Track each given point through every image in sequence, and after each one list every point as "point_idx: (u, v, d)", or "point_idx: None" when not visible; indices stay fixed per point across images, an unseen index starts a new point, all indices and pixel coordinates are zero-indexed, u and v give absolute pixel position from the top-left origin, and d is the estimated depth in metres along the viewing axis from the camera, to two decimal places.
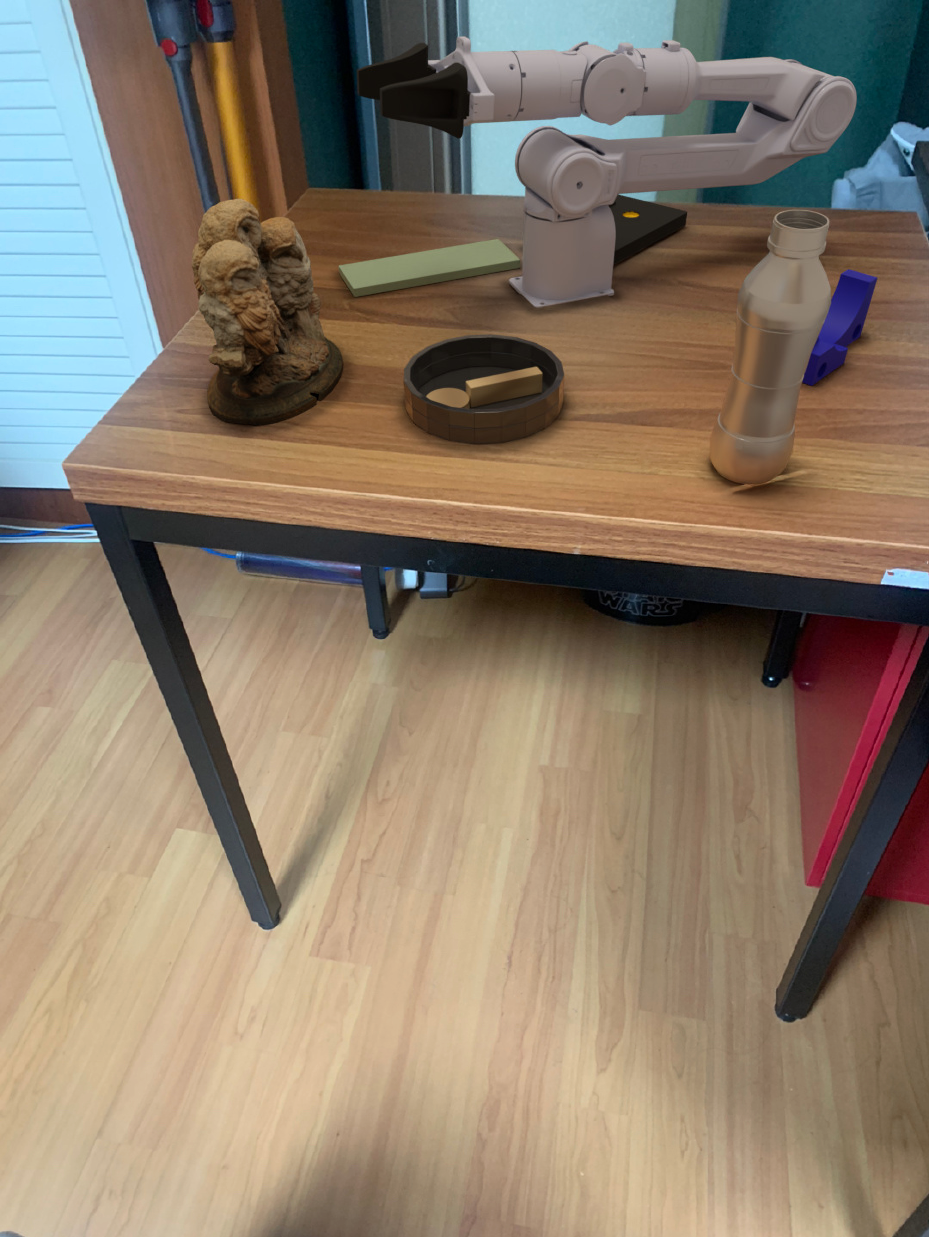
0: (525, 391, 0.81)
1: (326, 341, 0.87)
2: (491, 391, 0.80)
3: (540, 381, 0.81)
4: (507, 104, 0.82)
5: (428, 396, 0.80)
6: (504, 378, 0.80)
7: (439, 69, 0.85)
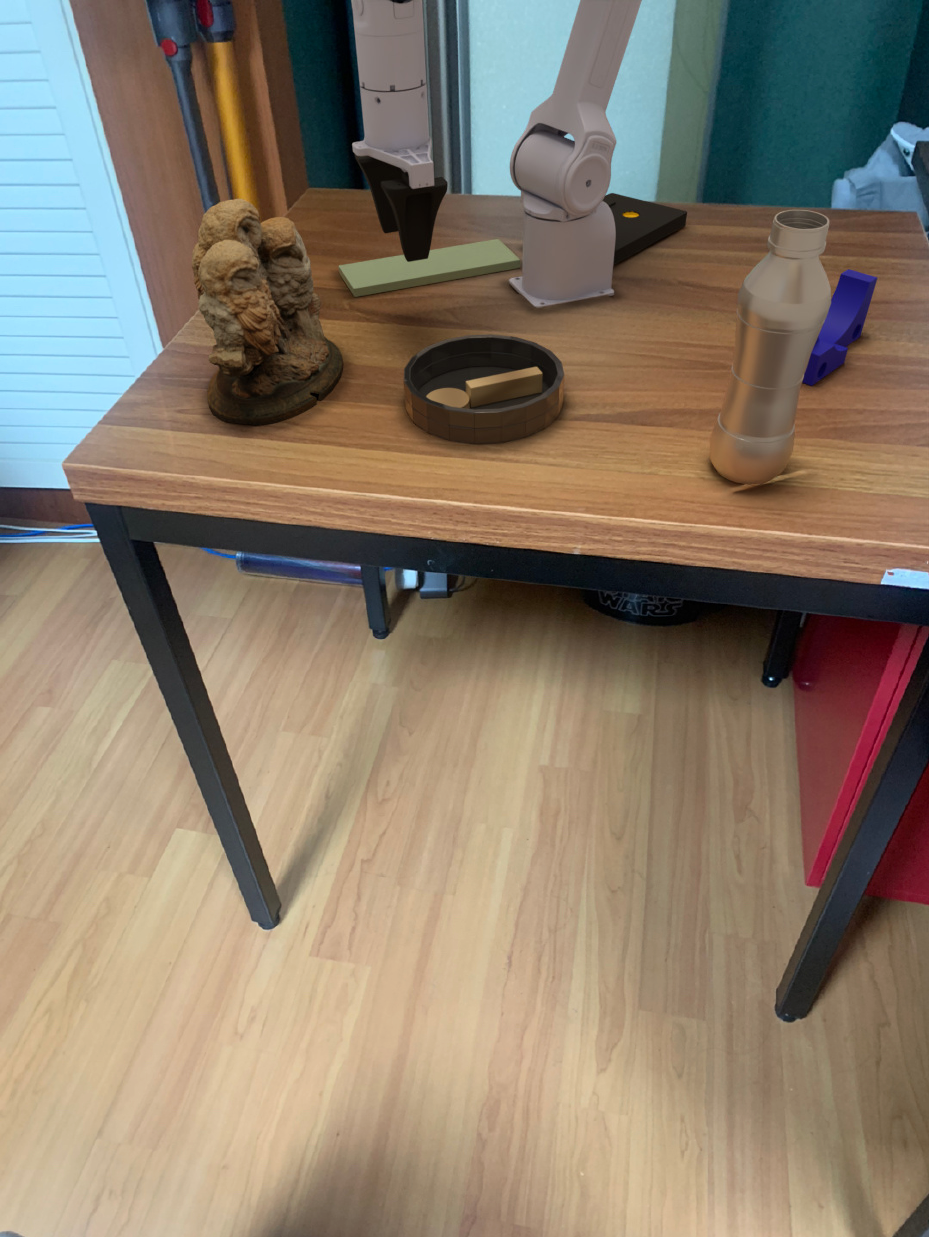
0: (525, 391, 0.81)
1: (326, 341, 0.87)
2: (491, 391, 0.80)
3: (540, 381, 0.81)
4: (412, 106, 0.75)
5: (428, 396, 0.80)
6: (504, 378, 0.80)
7: None
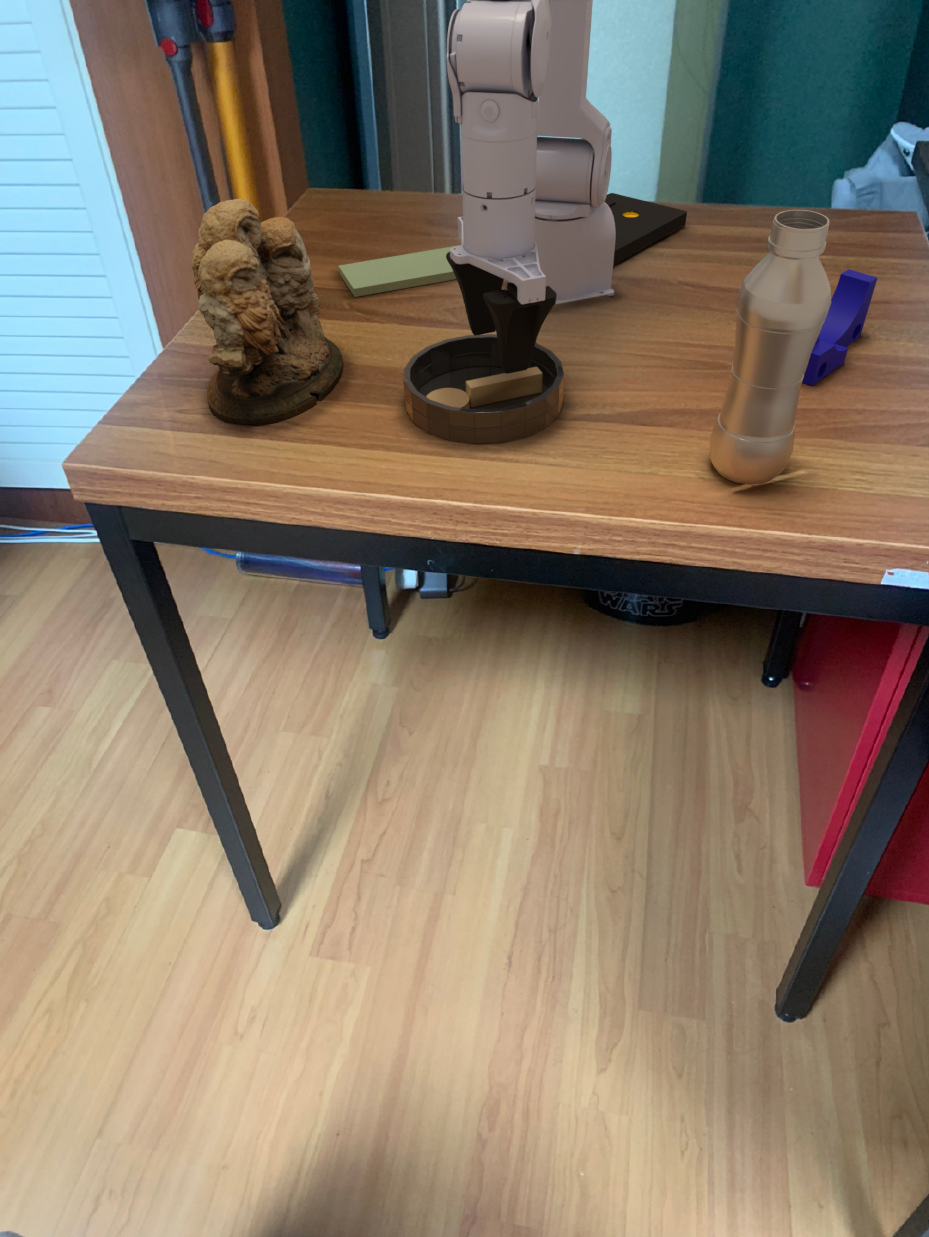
0: (525, 391, 0.81)
1: (326, 341, 0.87)
2: (491, 391, 0.80)
3: (540, 381, 0.81)
4: (521, 213, 0.68)
5: (428, 396, 0.80)
6: (504, 378, 0.80)
7: None
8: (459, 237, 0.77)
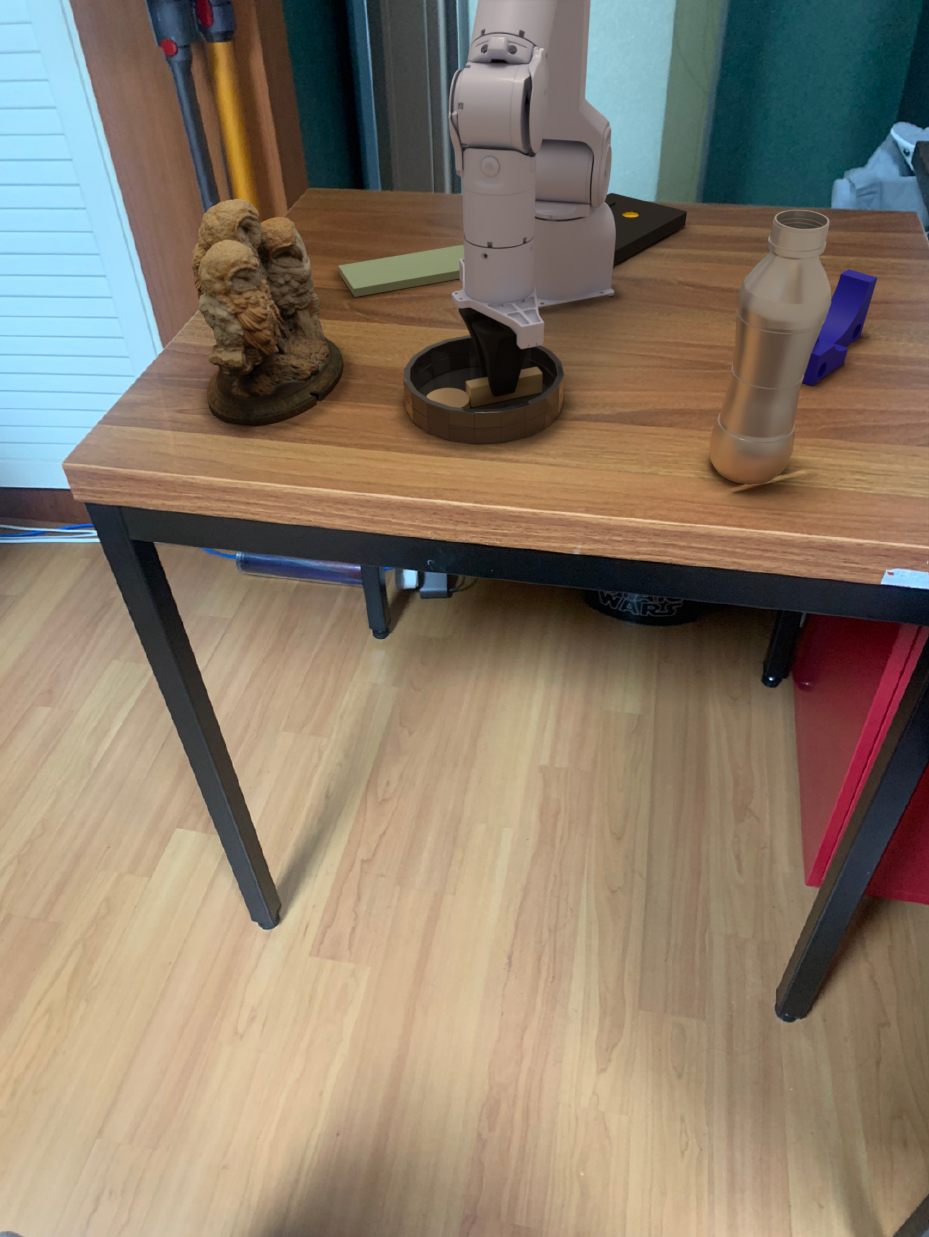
0: (525, 391, 0.81)
1: (326, 341, 0.87)
2: None
3: (540, 381, 0.81)
4: (521, 260, 0.71)
5: (428, 396, 0.80)
6: None
7: None
8: (460, 278, 0.80)
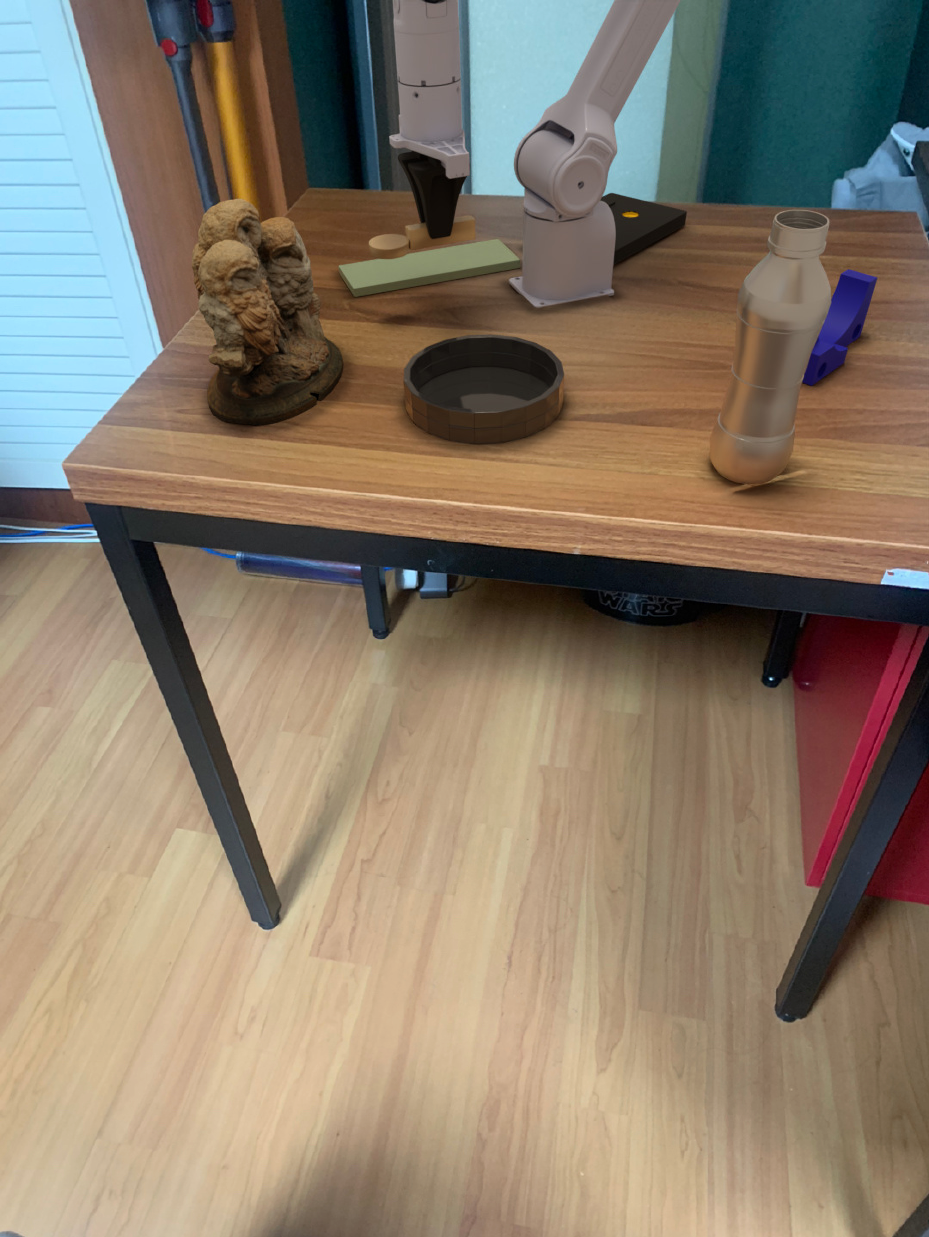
0: (460, 236, 0.90)
1: (326, 341, 0.87)
2: (428, 235, 0.89)
3: (473, 227, 0.90)
4: (448, 100, 0.79)
5: (372, 240, 0.89)
6: None
7: None
8: None
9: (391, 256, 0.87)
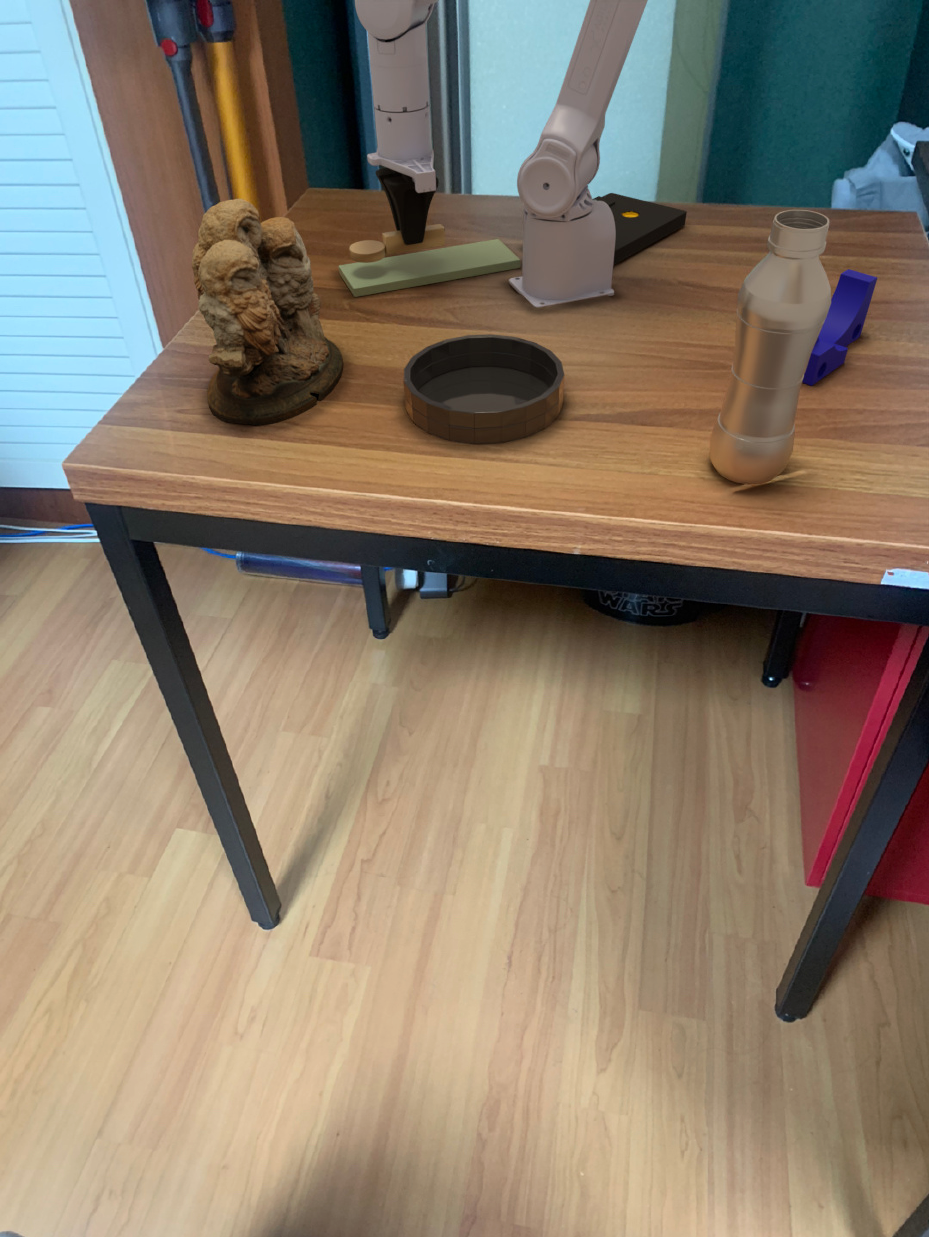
0: (431, 243, 1.01)
1: (326, 341, 0.87)
2: (402, 241, 1.00)
3: (443, 235, 1.01)
4: (418, 124, 0.91)
5: (352, 245, 1.00)
6: None
7: None
8: None
9: (369, 260, 0.99)
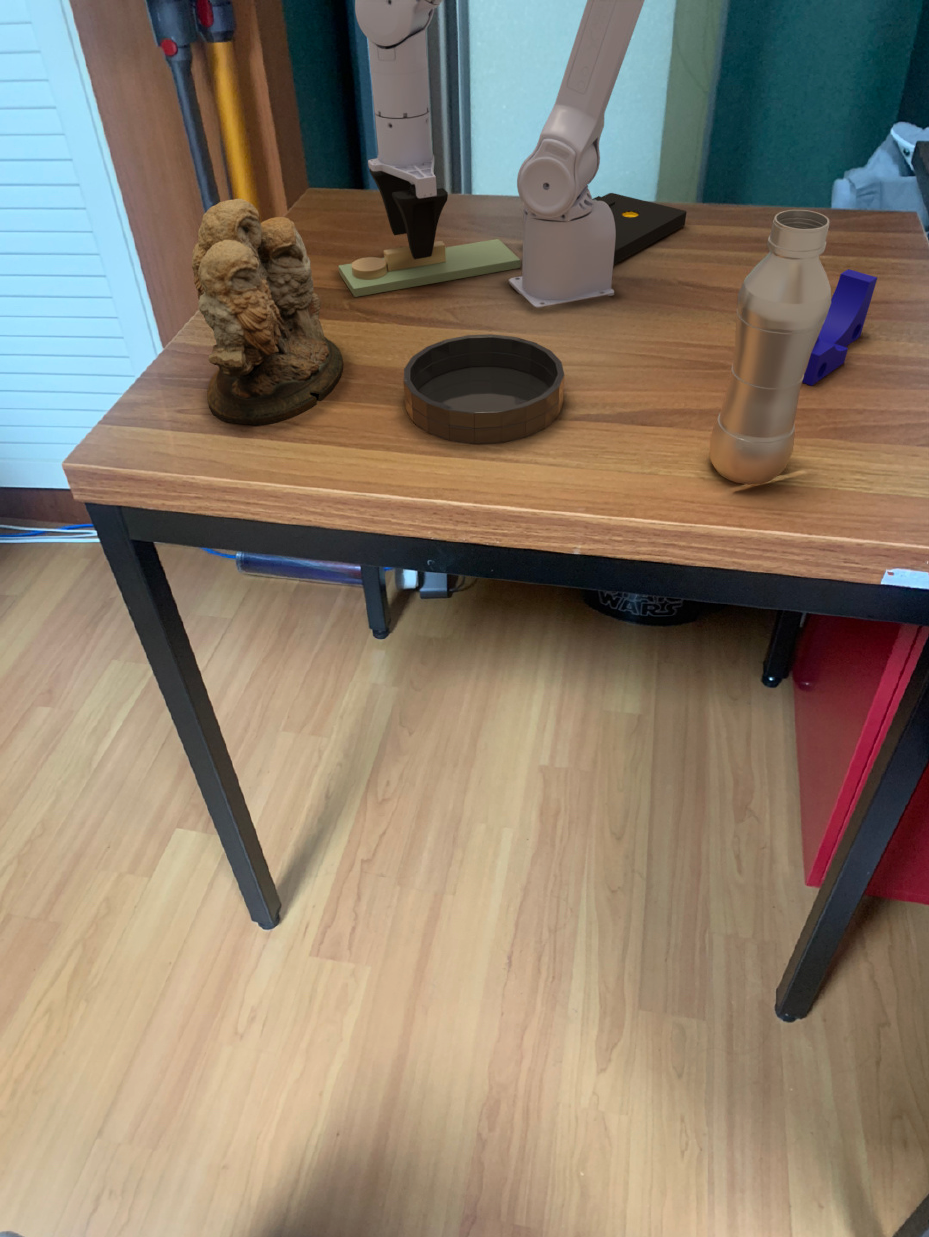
0: (432, 259, 1.02)
1: (326, 341, 0.87)
2: (404, 258, 1.01)
3: (443, 252, 1.02)
4: (418, 130, 0.91)
5: (354, 262, 1.01)
6: None
7: None
8: None
9: (371, 277, 1.00)
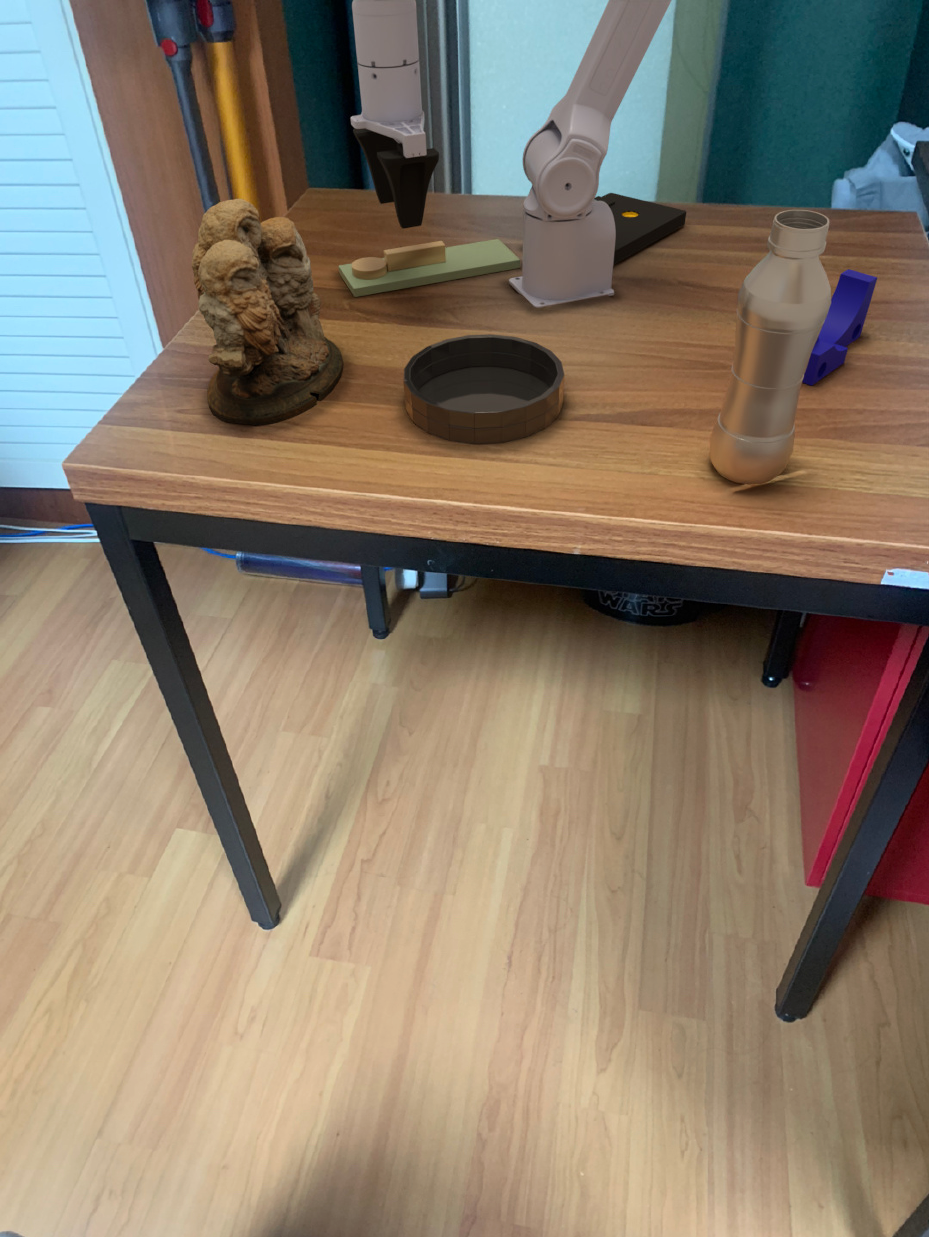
0: (432, 259, 1.02)
1: (326, 341, 0.87)
2: (404, 258, 1.01)
3: (443, 252, 1.02)
4: (406, 81, 0.81)
5: (354, 262, 1.01)
6: (414, 248, 1.01)
7: None
8: None
9: (371, 277, 1.00)
